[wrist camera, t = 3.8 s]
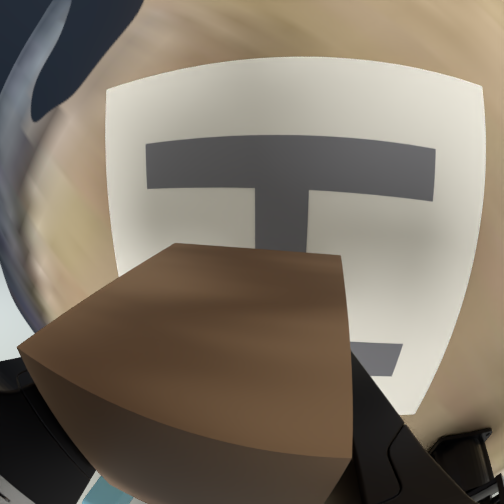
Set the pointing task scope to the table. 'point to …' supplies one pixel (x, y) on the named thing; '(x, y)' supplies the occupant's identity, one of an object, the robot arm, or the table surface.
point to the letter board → (314, 186)
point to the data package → (106, 494)
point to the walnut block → (207, 376)
